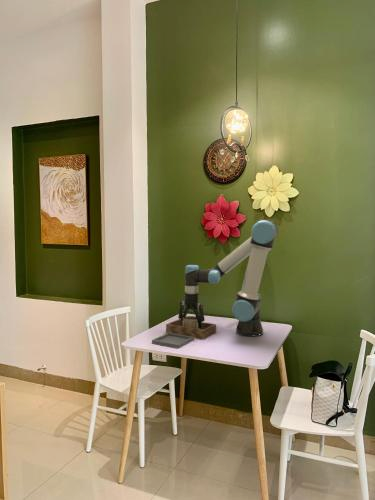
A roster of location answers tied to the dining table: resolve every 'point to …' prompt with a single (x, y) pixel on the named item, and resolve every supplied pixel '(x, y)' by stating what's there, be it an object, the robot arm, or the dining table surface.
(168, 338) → the tray
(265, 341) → the dining table surface
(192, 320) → the flower pot
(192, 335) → the walled box
